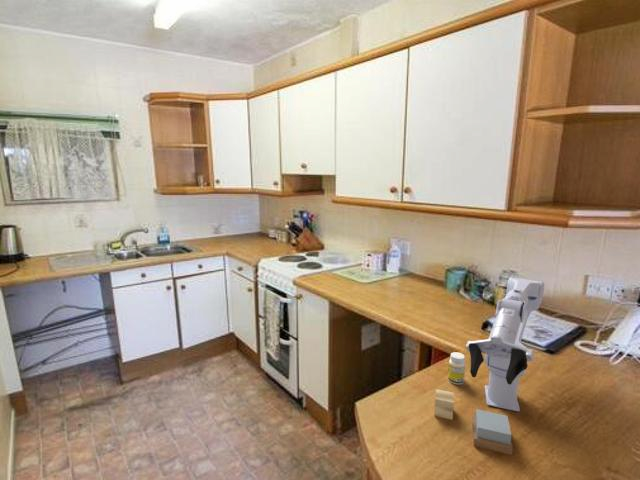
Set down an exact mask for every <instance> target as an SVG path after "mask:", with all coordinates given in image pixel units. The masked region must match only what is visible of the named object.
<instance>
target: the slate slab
mask: <svg viewBox="0 0 640 480" xmlns="http://www.w3.org/2000/svg"><path fill="white" fill-rule="evenodd" d="M474 417H475V420H476V433H477V437H480V438H484V439H488V440H492V441H497V442H501V443H505V444H509V445H510V443H511V441H512V430H511V427H510V422H509V418H508V415H506V414H501V413H495V412H493V411H492V412H491V411H486V410H481V409H477V408H476V409H475V415H474Z"/></svg>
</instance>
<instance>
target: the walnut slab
mask: <svg viewBox="0 0 640 480" xmlns="http://www.w3.org/2000/svg"><path fill="white" fill-rule="evenodd" d="M471 427H472V440H473V441H472V443H473V447H476V448H481V449H485V450H490V451H494V452H498V453H501V454H505V455H506V454H507V455H511V456H512V455H513V449H514V448H513V447H514V446H513V442H512V441H513V440H511V443H510V445H509V444H505V443H501V442H497V441H492V440H488V439H484V438H480V437H477V433H476V420H475V416H472V421H471Z"/></svg>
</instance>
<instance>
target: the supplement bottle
mask: <svg viewBox="0 0 640 480" xmlns="http://www.w3.org/2000/svg"><path fill="white" fill-rule="evenodd" d="M449 358H450V359H449V361H448V368H447V369H448V372H447V380H448V382H450V383H451V384H454V385H463V384H464V383H465V374H466V362H465V361H466V360H465V359H466V357H465V355H464V354H463V353H460V352H458V351H457V352H455V351H453V352H451V353H450V357H449Z"/></svg>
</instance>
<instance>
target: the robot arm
mask: <svg viewBox="0 0 640 480" xmlns="http://www.w3.org/2000/svg"><path fill="white" fill-rule="evenodd" d="M544 290H545V282H543V281H542V280H540V281H539V280H533V279H527V278H521V277H514V276H510V277H509V279H508V281H507V285H506V295H505V296H504V297H503V298H502V299H498V301H497V304H496V310H495V314H494V321H493V324H492V327H491V329H490V330H491V331H490V334H489V336H488V339H480V340H467V343H466V345H465V348H466V351H467V352H468V353H469V356H470V369H469V370H470V371H469V372H470V375H471V377H472V378H476V377H477V375H478V371H479V368H480V367H481V365H482V364H483V363H484V364H485V366H486V367H488V371H489V375H488V385H484V392H485V400H486V405H487V406H491V407H495V408H500V409H504V410H510V411H514V412H520V410H521V408H520V406H519V405H520V404H519V401H518V390H519V383H520V382H519V381H520V377H523V376H524V375H526V372H527V368H528V362H531V363H533V361H534V357H535V353H534V351H533V349H532V348H527V347H526V346H525V345H524V344H523V343H521V341H522V338H523V335H524V331H525V328H526V325H527V323H528V322H527V321H528V319H529V317H530V314H532V312H534V311H537V310H539V307H541V304H542V301H543V296H544ZM483 354H484V356H483Z"/></svg>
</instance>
